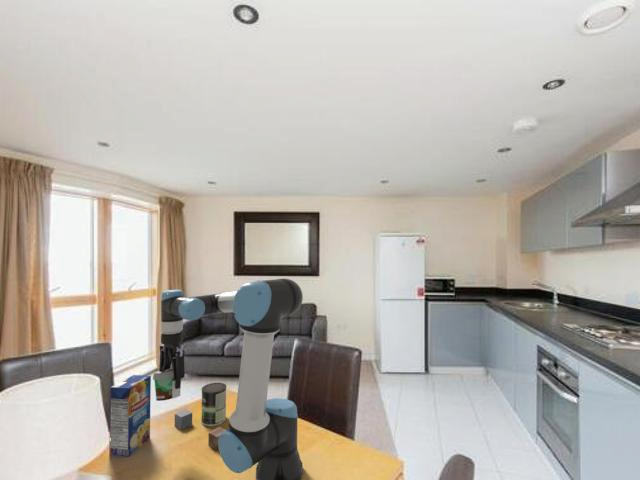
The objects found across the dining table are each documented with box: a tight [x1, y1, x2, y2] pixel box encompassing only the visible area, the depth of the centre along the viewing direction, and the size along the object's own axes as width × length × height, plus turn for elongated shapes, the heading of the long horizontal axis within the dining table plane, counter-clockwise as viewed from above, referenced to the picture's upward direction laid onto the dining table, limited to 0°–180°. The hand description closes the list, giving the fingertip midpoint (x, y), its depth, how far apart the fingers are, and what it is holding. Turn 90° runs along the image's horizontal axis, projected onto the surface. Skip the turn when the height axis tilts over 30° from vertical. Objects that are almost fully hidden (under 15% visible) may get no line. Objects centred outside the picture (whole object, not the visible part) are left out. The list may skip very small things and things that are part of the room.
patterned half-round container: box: [152, 367, 182, 402], centre depth 120 cm, size 12×6×10 cm, turn 163°
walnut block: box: [208, 426, 226, 451], centre depth 122 cm, size 5×5×5 cm
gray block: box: [174, 409, 193, 430], centre depth 137 cm, size 5×5×5 cm
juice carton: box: [108, 374, 152, 458], centre depth 122 cm, size 12×8×24 cm, turn 172°
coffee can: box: [200, 382, 227, 427], centre depth 141 cm, size 10×10×14 cm
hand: (171, 394), depth 121 cm, fingers closed on patterned half-round container, 6 cm apart
